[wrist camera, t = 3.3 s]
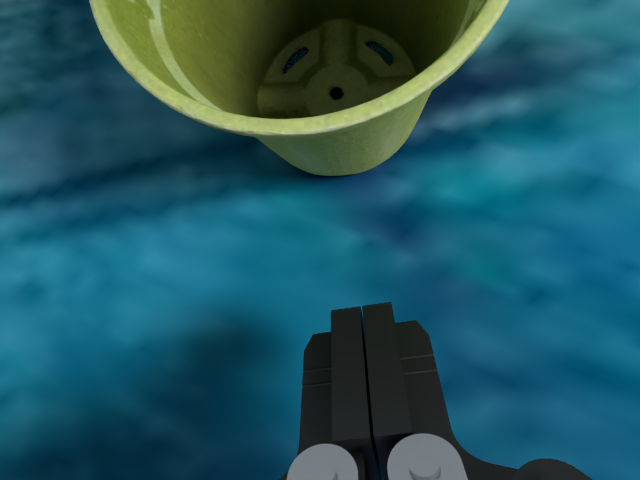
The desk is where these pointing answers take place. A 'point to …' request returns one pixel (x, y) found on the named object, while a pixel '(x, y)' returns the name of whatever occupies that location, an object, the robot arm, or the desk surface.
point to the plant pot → (298, 67)
